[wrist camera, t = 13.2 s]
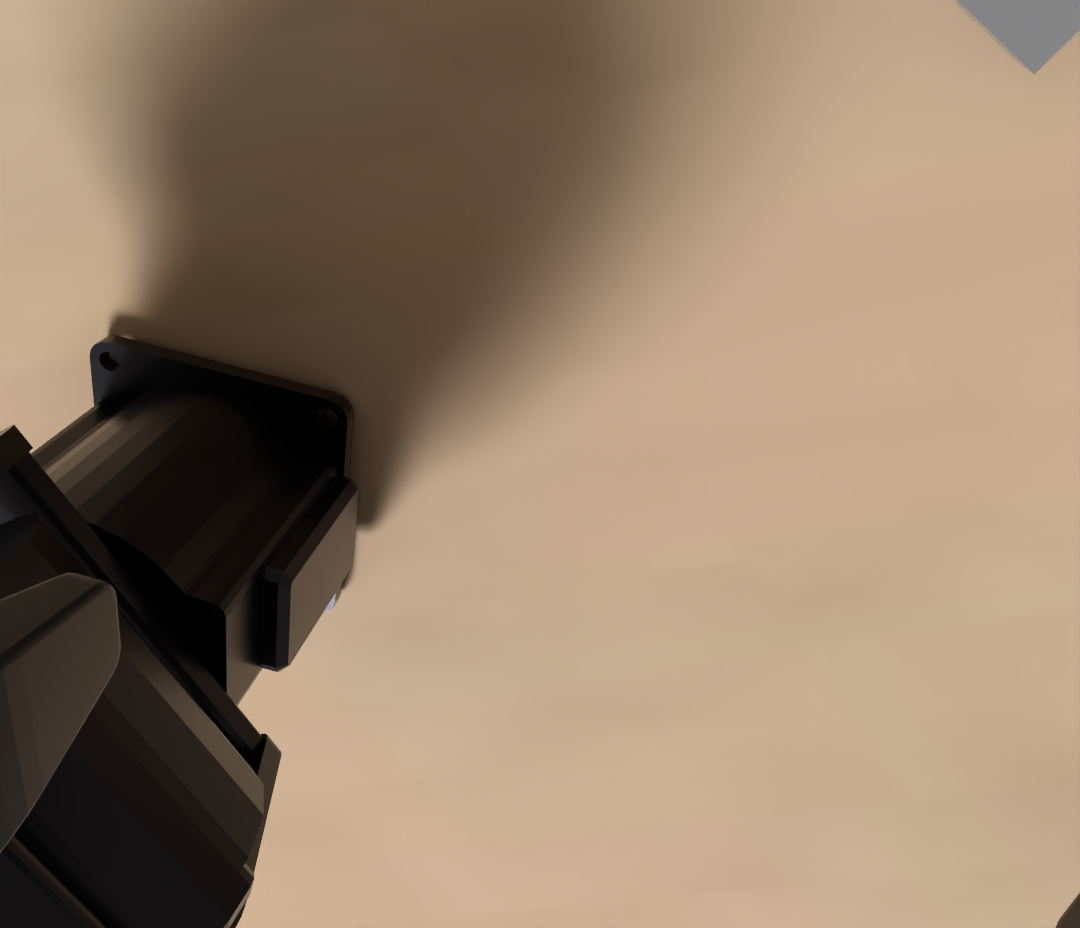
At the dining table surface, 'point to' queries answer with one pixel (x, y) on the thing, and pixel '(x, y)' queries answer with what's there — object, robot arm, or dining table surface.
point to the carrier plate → (1027, 26)
